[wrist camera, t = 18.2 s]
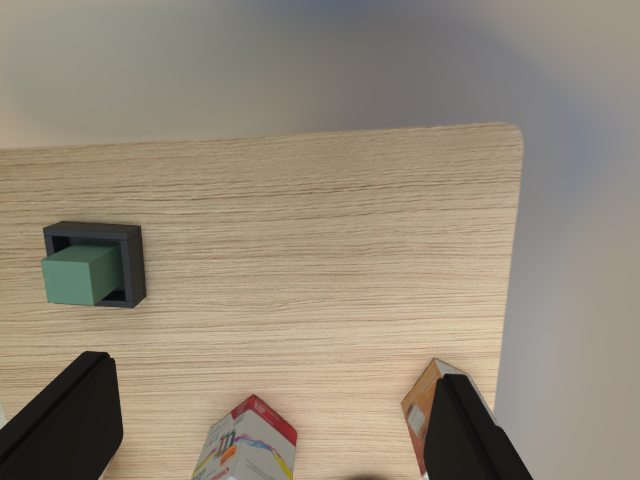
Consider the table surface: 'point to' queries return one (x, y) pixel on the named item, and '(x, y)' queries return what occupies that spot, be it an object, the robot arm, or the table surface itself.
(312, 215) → the table surface
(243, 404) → the ink box
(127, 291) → the socket
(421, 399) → the small box
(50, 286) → the pad block
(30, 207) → the table surface
